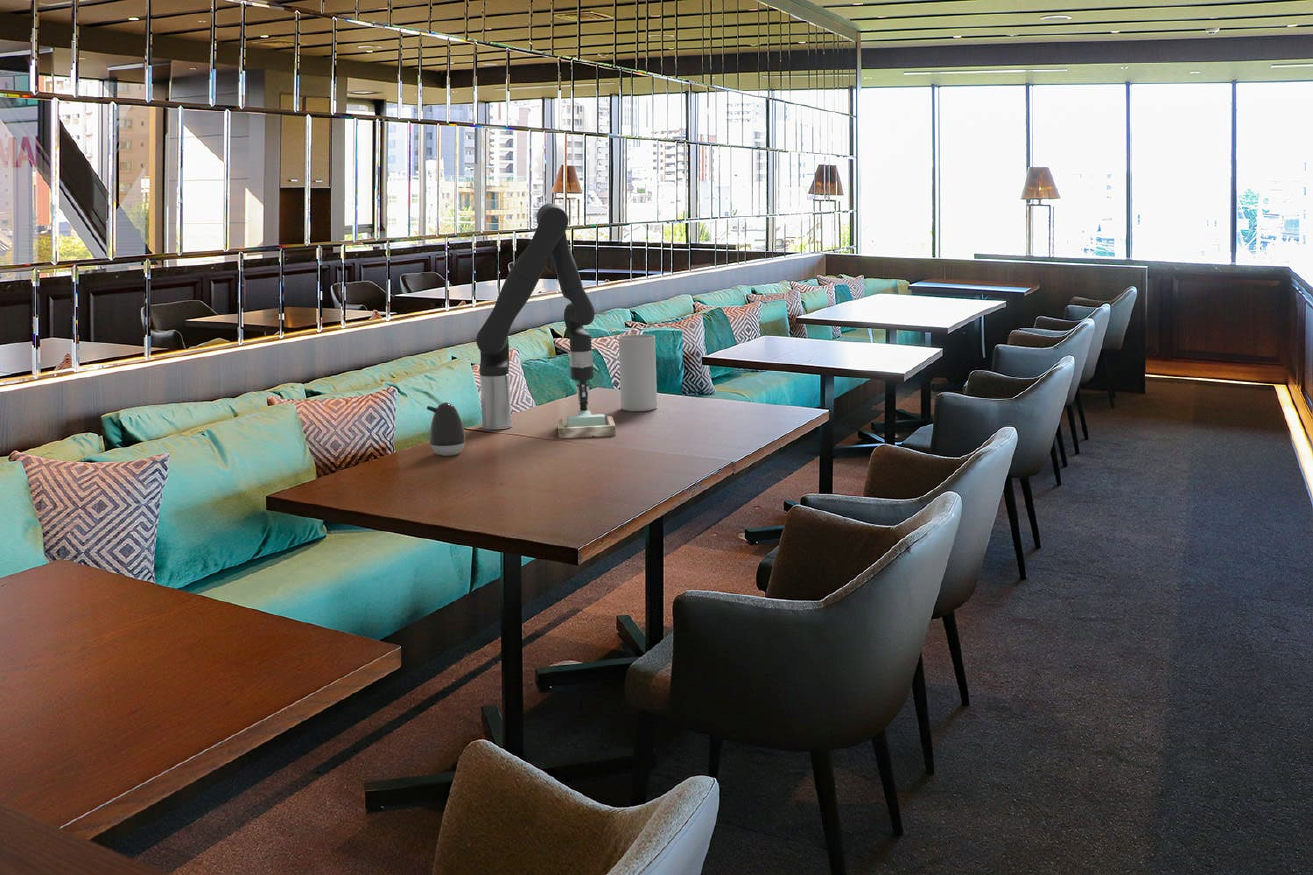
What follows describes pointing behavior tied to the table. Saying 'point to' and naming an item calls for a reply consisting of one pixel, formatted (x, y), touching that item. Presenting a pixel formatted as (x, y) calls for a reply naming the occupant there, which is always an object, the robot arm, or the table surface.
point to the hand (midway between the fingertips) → (583, 416)
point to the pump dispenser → (446, 430)
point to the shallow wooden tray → (587, 430)
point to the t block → (585, 419)
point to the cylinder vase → (637, 372)
